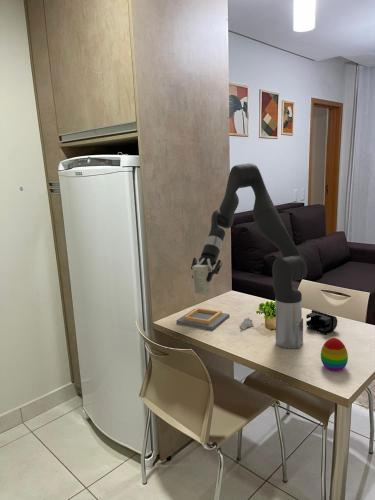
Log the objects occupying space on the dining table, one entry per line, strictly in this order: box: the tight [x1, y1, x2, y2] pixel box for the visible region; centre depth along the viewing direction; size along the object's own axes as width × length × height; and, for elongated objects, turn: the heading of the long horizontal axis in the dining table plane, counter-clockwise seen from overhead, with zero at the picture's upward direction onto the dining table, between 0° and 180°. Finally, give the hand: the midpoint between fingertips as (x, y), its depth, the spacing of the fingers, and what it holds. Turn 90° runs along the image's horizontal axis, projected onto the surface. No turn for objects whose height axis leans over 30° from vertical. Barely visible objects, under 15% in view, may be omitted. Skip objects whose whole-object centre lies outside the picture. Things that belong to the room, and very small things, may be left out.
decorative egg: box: [320, 337, 349, 372], centre depth 121 cm, size 8×8×10 cm
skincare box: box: [191, 264, 212, 296], centre depth 164 cm, size 6×4×12 cm
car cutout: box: [239, 317, 255, 331], centre depth 155 cm, size 15×7×4 cm, turn 123°
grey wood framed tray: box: [175, 307, 230, 331], centre depth 167 cm, size 18×16×3 cm
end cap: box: [305, 309, 338, 336], centre depth 151 cm, size 10×7×7 cm
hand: (200, 280), depth 163 cm, fingers closed on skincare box, 6 cm apart
